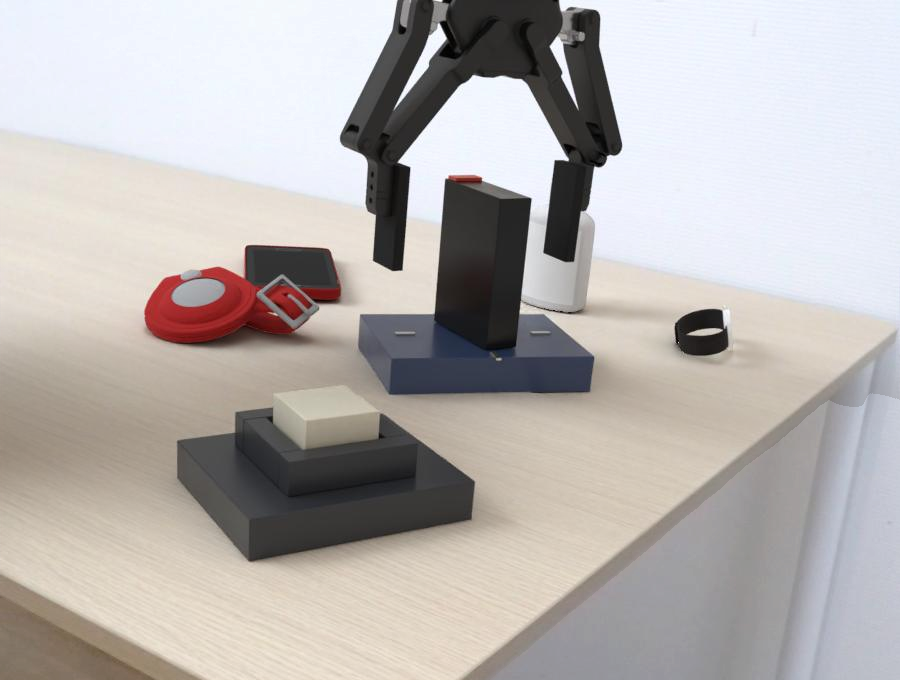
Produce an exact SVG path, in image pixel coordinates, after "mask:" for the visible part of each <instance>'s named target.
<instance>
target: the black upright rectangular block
mask: <svg viewBox="0 0 900 680" xmlns="http://www.w3.org/2000/svg"><path fill="white" fill-rule="evenodd" d="M443 187H444V188H443V201H442V214H441V225H440V237H439V239H440V240H439V250H438V251H439V252H438V263H437V264H438V265H437V277H436V290H435V303H434V313H433V314H434V321H435V322H437V323H439V324H441V325H443V326H444V327H446V328H448V329H450V330H451V331H453V332H455V333H457V334H459V335H460V336H462V337H464V338H466V339H467V340H469V341H471V342H473V343H475V344H476V345H478V346H480V347H482V348H483V349H485V350H493V349H503V348H512V347H516V342H517V333H518V324H519V314H521V303H522V300H521V295H522V286H523V277H524V267H525V258H526V249H527V239H528V230H529V220H530V213H531V212H532V209H531V208H532V201H533V199H532V197H530V196H527V195H525V194H521V193H518V192H515V191H513V190H510V189H507V188H504V187H502V186H499V185H497V184H496V185H495V184H494V183H490V182H488V181H485V180H483V177H481V176H479V175H476V174H448V178H445V179H444V186H443Z"/></svg>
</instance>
